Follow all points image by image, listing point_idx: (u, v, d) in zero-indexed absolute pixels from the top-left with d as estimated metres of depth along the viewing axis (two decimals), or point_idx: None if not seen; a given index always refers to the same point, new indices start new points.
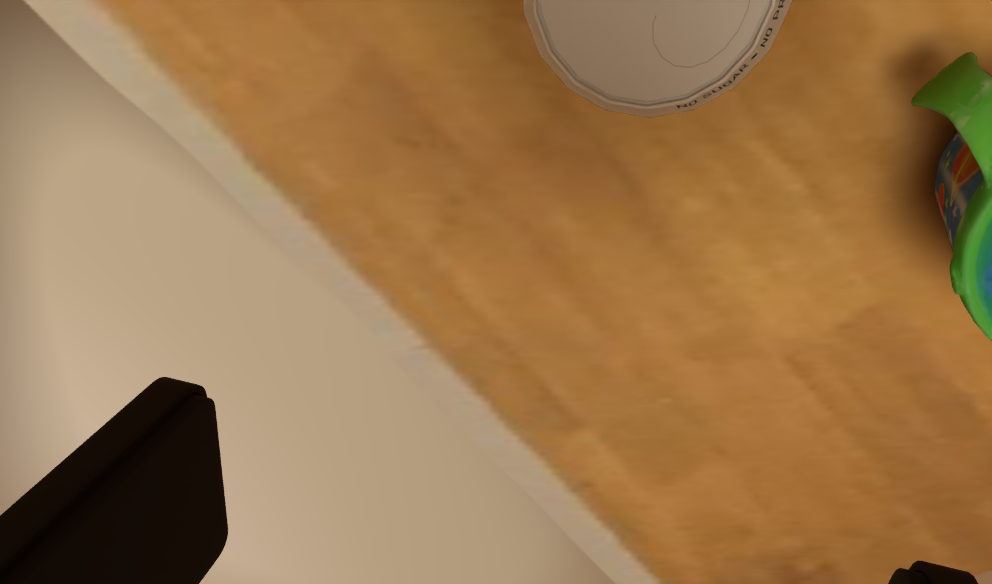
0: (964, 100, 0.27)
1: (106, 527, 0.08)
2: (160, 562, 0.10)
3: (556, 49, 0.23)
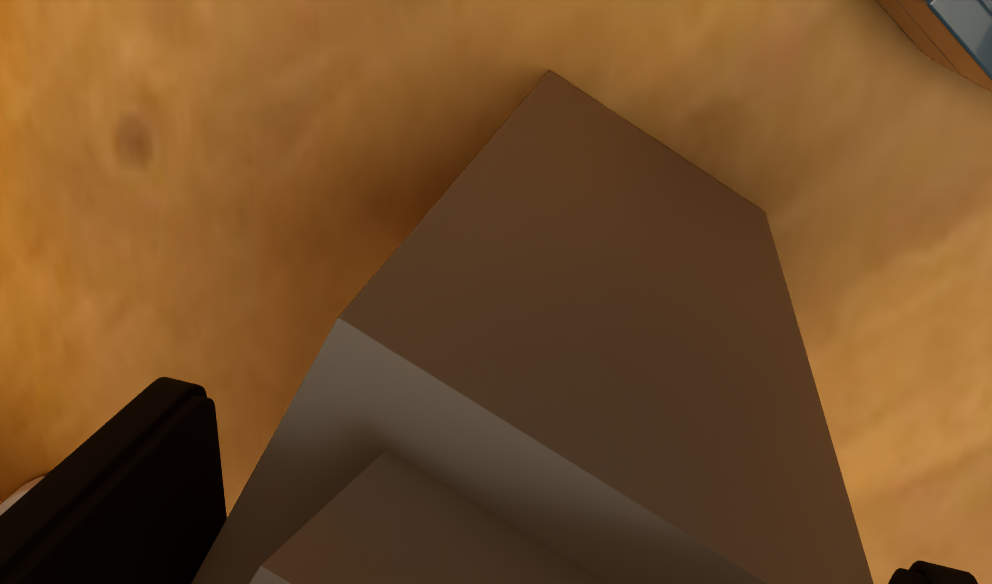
0: None
1: (106, 527, 0.08)
2: (160, 562, 0.10)
3: None
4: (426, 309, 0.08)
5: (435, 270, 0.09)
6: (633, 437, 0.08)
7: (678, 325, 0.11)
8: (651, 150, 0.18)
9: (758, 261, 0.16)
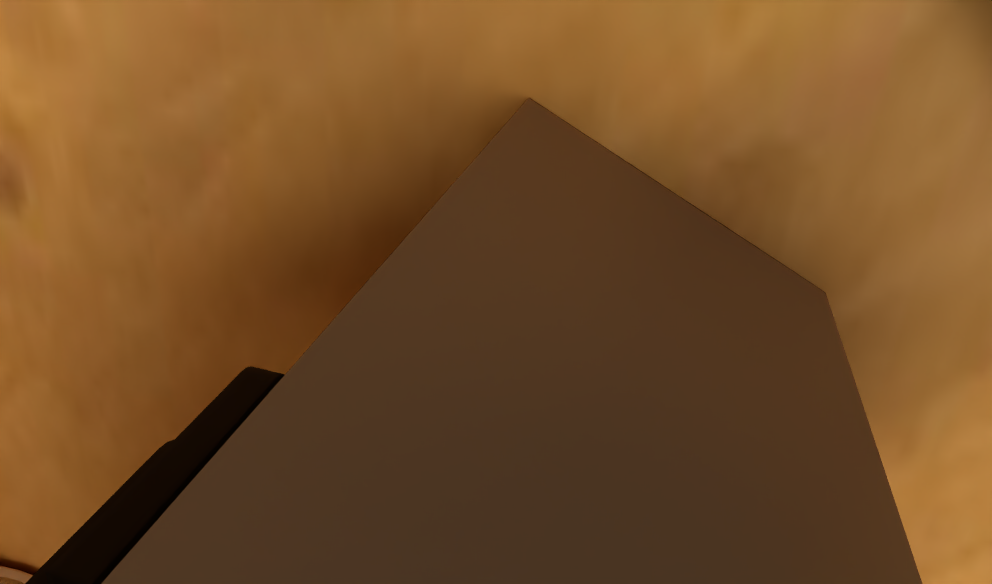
0: None
1: None
2: None
3: None
4: None
5: None
6: None
7: None
8: (669, 213, 0.13)
9: (829, 396, 0.11)
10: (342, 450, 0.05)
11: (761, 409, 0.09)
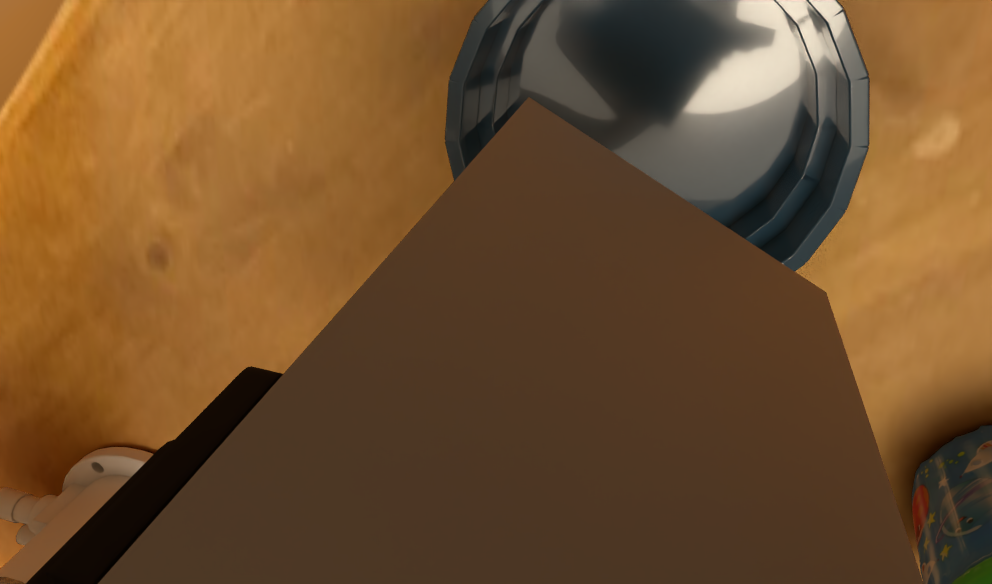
0: None
1: None
2: None
3: None
4: None
5: None
6: None
7: None
8: (669, 212, 0.13)
9: (830, 396, 0.11)
10: (341, 450, 0.05)
11: (762, 409, 0.09)
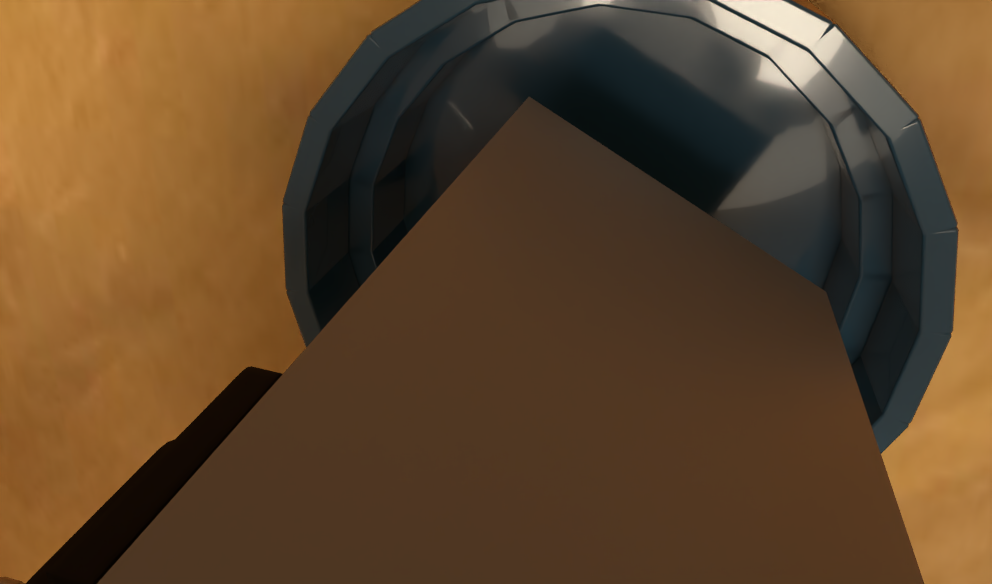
0: None
1: None
2: None
3: None
4: None
5: None
6: None
7: None
8: (670, 212, 0.13)
9: (830, 395, 0.11)
10: (341, 449, 0.05)
11: (762, 408, 0.09)
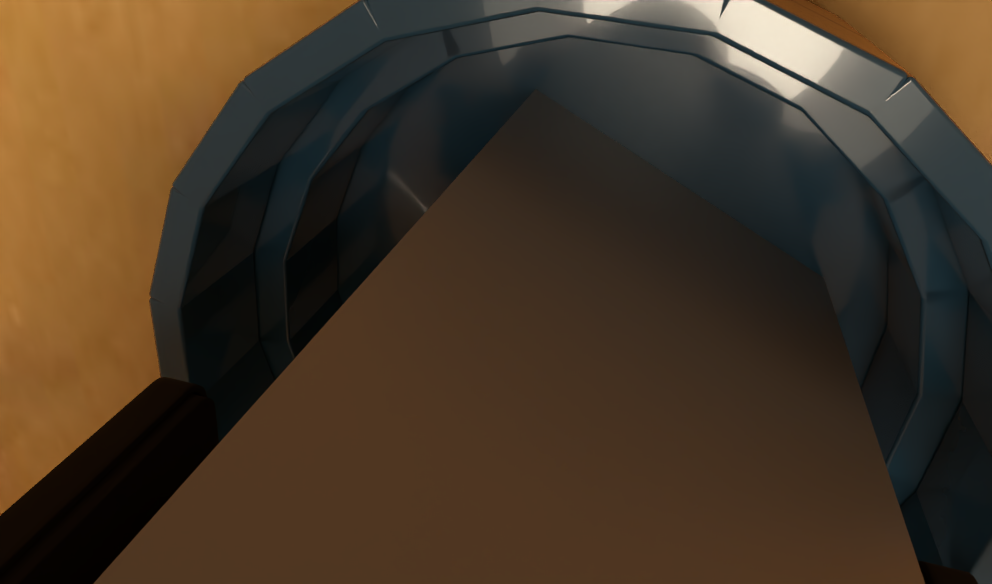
0: None
1: (106, 527, 0.08)
2: None
3: None
4: None
5: None
6: None
7: (719, 566, 0.06)
8: (672, 200, 0.13)
9: (825, 372, 0.11)
10: (370, 402, 0.06)
11: (759, 382, 0.10)
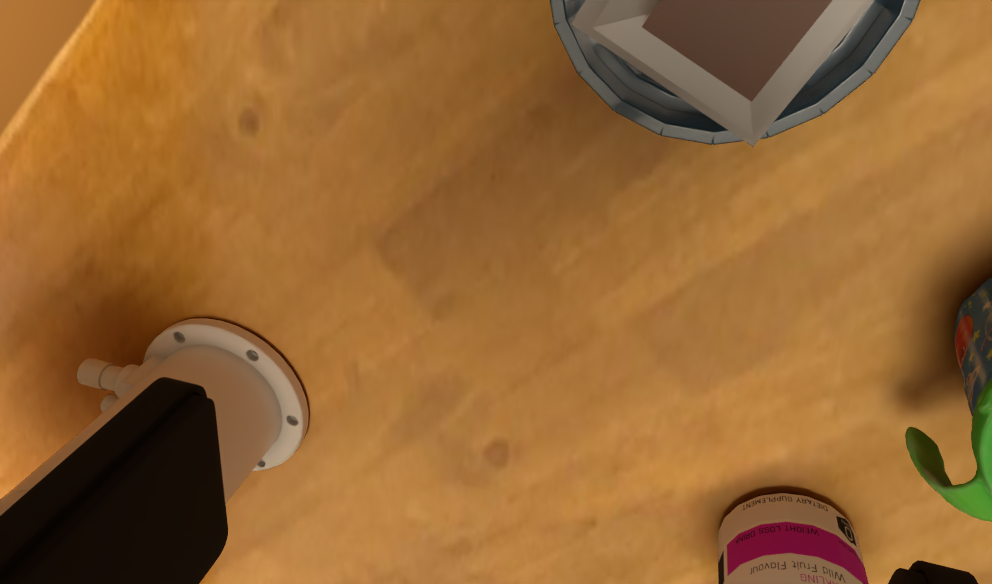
0: (945, 497, 0.34)
1: (106, 527, 0.08)
2: (160, 562, 0.10)
3: None
4: None
5: None
6: None
7: None
8: None
9: None
10: None
11: None
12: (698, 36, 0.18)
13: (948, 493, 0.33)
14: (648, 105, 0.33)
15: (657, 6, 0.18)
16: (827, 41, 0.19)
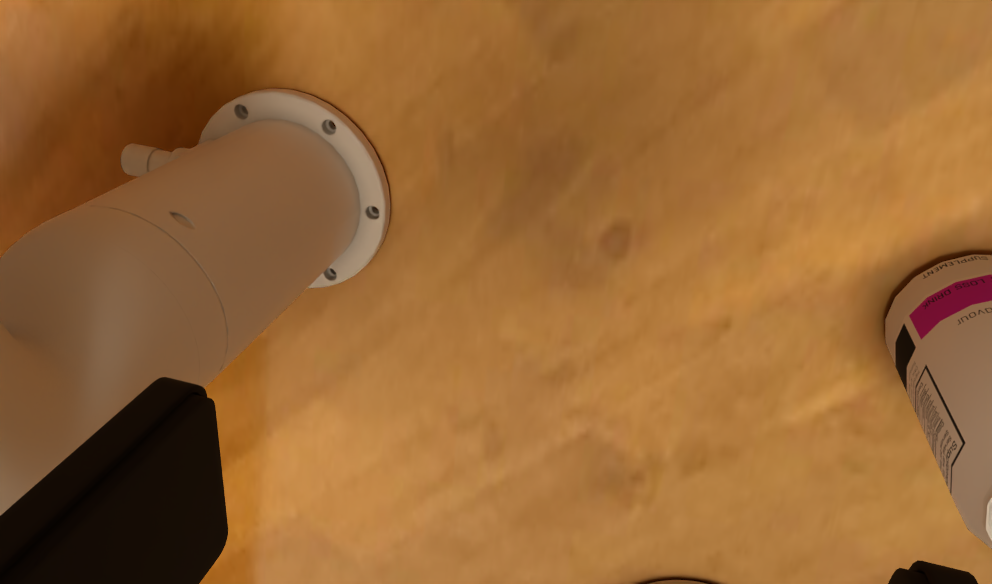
0: None
1: (106, 527, 0.08)
2: (160, 562, 0.10)
3: None
4: None
5: None
6: None
7: None
8: None
9: None
10: None
11: None
12: None
13: None
14: None
15: None
16: None
